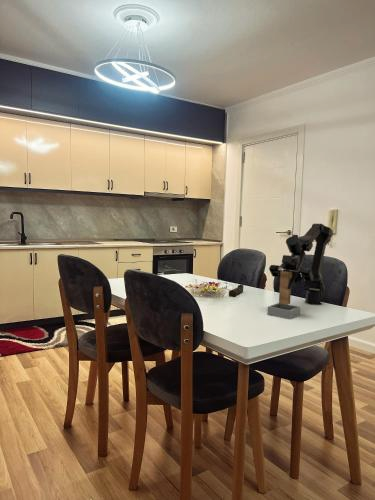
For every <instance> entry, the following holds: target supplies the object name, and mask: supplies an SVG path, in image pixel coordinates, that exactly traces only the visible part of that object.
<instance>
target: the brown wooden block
mask: <svg viewBox="0 0 375 500" xmlns="http://www.w3.org/2000/svg"><path fill="white" fill-rule="evenodd" d="M292 276H293V275H292V272H290V271H281V273H280V287H279V293H278V294H279V295H278V303H279V304H284V305H291V296H292V295H291V294H292V288H290V289H288V285H289V283H290V281H291V279H292Z"/></svg>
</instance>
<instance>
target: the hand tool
mask: <svg viewBox="0 0 375 500" xmlns="http://www.w3.org/2000/svg"><path fill="white" fill-rule="evenodd" d="M243 293H244V284H243V283H241V284H238V285H237V287H236V288H233V289H230V290H229V291H228V296H229V297H230V298H235V297H237V295H239V294H243Z"/></svg>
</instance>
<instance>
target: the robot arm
mask: <svg viewBox="0 0 375 500" xmlns="http://www.w3.org/2000/svg"><path fill="white" fill-rule="evenodd" d="M333 234H334V231H333V229H332V228H330V227H328V226H327V225H324V224H323V223H312V225H311V227H310V228H309V229H308V230H307V232H306V233H305V234H304V235H302V236H299V235H298V234H292V236H289V237H288V238H286V240H285V244H286V246H287V249H288V251H289V253H291V255H290V254H289V255H288V254H287V255H286V254H283V255H282V258H281V259H282V260H281V263H282V264H283V267H281V266H280V265H277V264H271V265H270V266H269V268H268V270H269V273H270V274H271V276H272V277H274V278H278V279H279V280H278V286H279V288H280V273H281V271H290V272H292V279H291V281H290V283H289V285H288V289H290V288H291V289H292V288H293V287H294V286H296V285H298V284H299V283H301V282H303V289H304V291H306V293H305V300H304V302H305V303H307V304H309V305H323V302H322V293H325V289H326V286H325V285H324V281H323V279H324V278H323V275H322V273H321V271H322V266H323V262H324V257H325V251H326V248H327V245H328V244H329V243H330V242H331V240H332V237H333ZM314 241H315V247H314V253H313V258H312V262H311V267H310V268H306V267H305V268H304V267H303V266H302V264H303V263H304V261H305V260H306V259H307V257H306V256H307V254H306V252H310V251H311V250H312V248H313V246H314V243H313V242H314Z"/></svg>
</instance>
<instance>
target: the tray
mask: <svg viewBox="0 0 375 500" xmlns="http://www.w3.org/2000/svg"><path fill="white" fill-rule="evenodd" d="M301 308H302V307H301V306H299V305H291V304H288V305H284V304H279V302H277V303H275V304H271V305H269V306H267V316H271V317H272V316H273V317H278V318H283V319H288V320H292V319H294V318H296V317H298V316H301V311H302V310H301Z"/></svg>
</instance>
